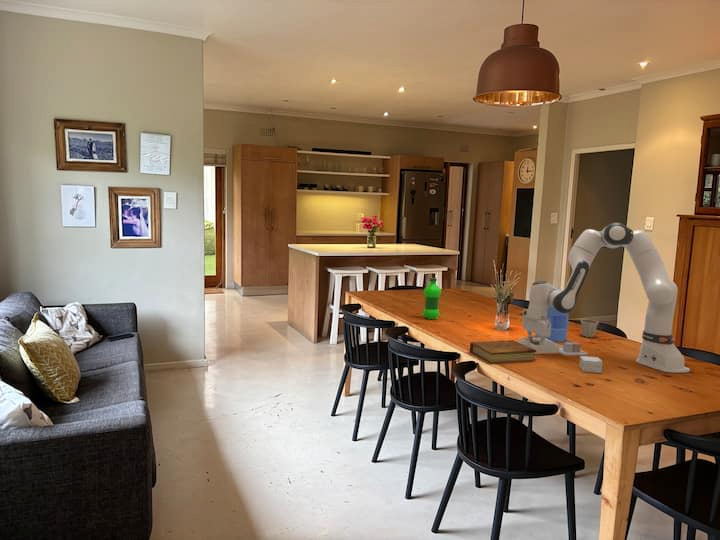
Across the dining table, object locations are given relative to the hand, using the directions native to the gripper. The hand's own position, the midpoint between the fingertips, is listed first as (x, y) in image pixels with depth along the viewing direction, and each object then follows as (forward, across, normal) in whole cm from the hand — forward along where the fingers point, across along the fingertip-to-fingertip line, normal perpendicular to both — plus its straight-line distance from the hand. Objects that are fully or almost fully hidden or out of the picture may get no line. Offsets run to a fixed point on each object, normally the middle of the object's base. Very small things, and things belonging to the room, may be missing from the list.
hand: (535, 342), depth 255 cm
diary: (+5, -9, +22) cm, 24 cm away
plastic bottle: (+4, +72, +28) cm, 78 cm away
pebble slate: (+4, -4, -16) cm, 16 cm away
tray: (+4, -4, -16) cm, 17 cm away
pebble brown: (+4, -4, -19) cm, 20 cm away
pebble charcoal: (+3, 0, 0) cm, 3 cm away
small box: (+5, -30, -9) cm, 32 cm away
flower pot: (+5, +26, -48) cm, 55 cm away
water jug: (+4, +21, -22) cm, 31 cm away
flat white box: (+4, 0, -2) cm, 5 cm away
